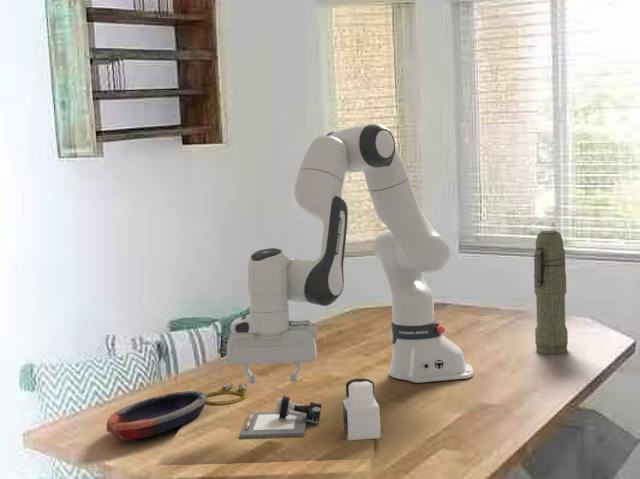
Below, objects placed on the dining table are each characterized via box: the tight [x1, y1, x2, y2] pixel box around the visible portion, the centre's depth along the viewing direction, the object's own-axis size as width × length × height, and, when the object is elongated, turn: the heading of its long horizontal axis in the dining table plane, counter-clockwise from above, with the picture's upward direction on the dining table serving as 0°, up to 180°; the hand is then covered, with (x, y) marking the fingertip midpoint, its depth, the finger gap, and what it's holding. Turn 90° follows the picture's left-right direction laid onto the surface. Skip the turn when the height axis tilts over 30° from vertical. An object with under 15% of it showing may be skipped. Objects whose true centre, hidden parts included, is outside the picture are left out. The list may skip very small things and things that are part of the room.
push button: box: [275, 395, 322, 424], centre depth 204 cm, size 7×5×10 cm
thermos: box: [533, 230, 569, 356], centre depth 255 cm, size 9×12×35 cm
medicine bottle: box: [342, 378, 382, 441], centre depth 193 cm, size 7×7×12 cm
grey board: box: [239, 411, 308, 439], centre depth 203 cm, size 14×16×1 cm
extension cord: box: [205, 381, 248, 406], centre depth 229 cm, size 12×16×2 cm
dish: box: [106, 390, 208, 441], centre depth 208 cm, size 16×31×5 cm, turn 145°
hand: (273, 382), depth 202 cm, fingers open, 8 cm apart
